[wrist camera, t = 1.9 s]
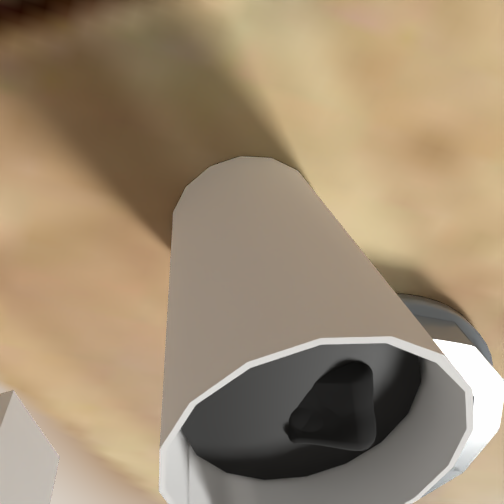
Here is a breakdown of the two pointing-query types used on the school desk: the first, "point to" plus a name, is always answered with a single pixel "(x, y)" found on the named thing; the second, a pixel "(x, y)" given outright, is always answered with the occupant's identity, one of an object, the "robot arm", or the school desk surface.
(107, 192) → the school desk surface
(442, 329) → the grey round dish
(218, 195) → the grey cup
